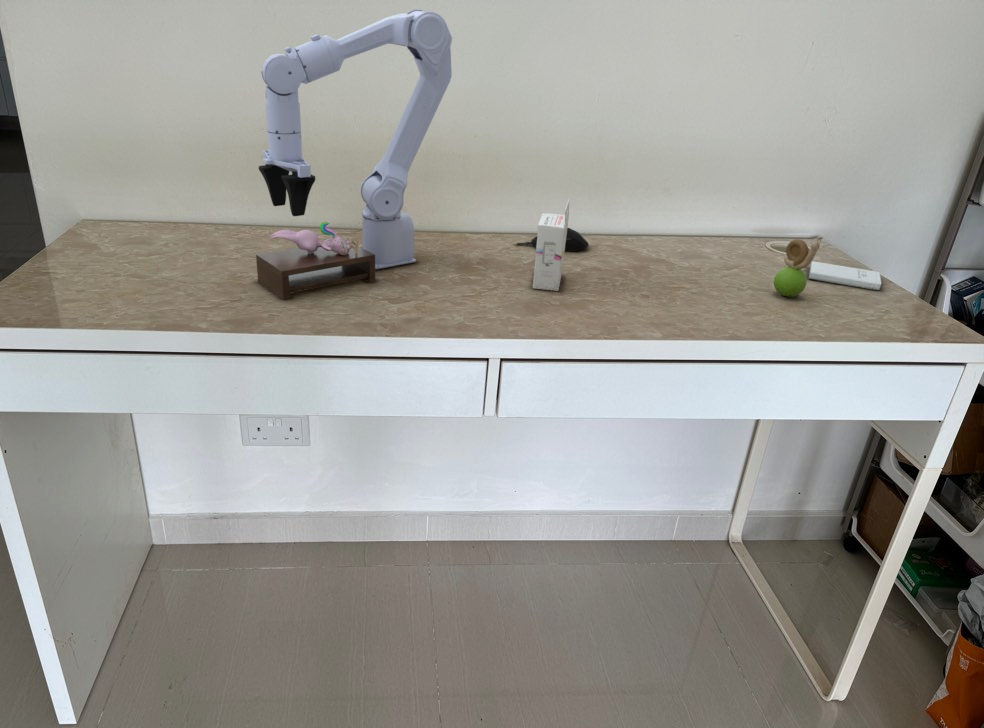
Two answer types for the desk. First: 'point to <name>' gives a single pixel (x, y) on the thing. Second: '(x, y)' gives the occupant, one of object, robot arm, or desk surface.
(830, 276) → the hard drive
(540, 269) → the ink cartridge box
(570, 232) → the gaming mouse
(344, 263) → the rack
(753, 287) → the desk surface
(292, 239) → the rabbit figure
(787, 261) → the snail figurine
